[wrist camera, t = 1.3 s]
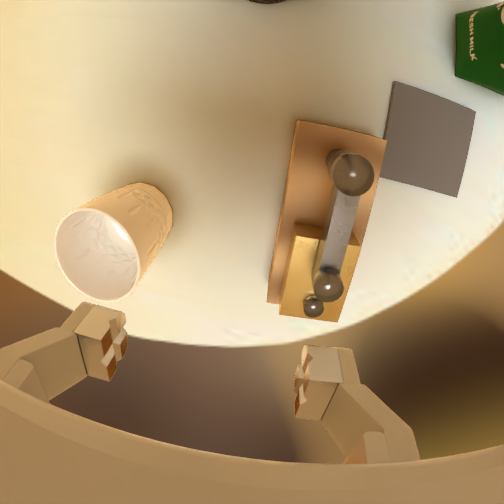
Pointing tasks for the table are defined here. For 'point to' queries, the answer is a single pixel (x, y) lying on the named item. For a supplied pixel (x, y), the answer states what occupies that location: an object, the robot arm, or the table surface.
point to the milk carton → (481, 47)
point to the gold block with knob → (300, 272)
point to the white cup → (112, 241)
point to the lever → (339, 220)
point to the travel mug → (266, 1)
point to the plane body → (318, 187)
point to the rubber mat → (426, 140)
